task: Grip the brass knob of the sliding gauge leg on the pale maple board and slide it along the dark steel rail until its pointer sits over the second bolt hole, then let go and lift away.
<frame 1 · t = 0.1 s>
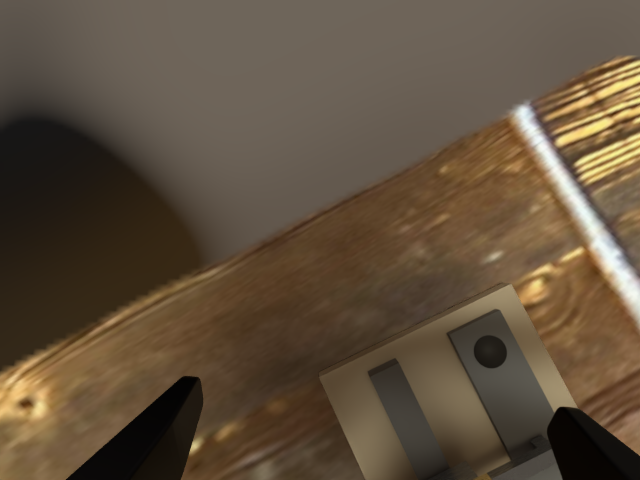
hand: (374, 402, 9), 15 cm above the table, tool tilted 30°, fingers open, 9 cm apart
gauge board: (473, 453, 22), on the table
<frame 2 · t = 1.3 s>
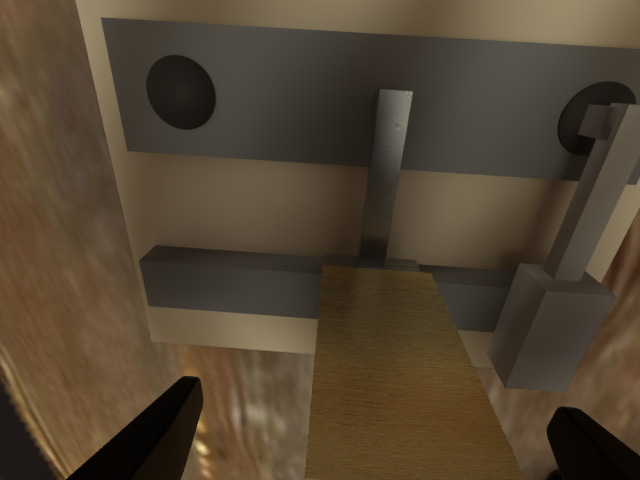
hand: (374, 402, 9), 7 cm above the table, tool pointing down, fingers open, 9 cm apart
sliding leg: (381, 311, 8), point 6 cm above the table, slide at -6.0 cm
gauge board: (367, 199, 13), on the table
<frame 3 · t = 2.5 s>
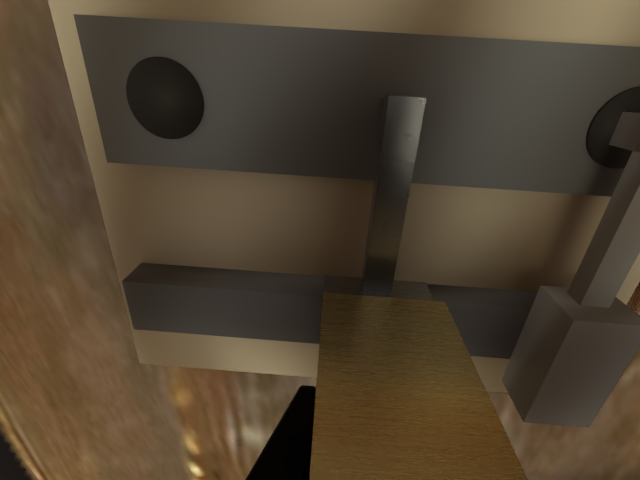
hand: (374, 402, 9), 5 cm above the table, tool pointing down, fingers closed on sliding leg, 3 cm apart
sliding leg: (391, 351, 7), point 6 cm above the table, slide at -6.0 cm, touching gripper
gauge board: (371, 213, 12), on the table
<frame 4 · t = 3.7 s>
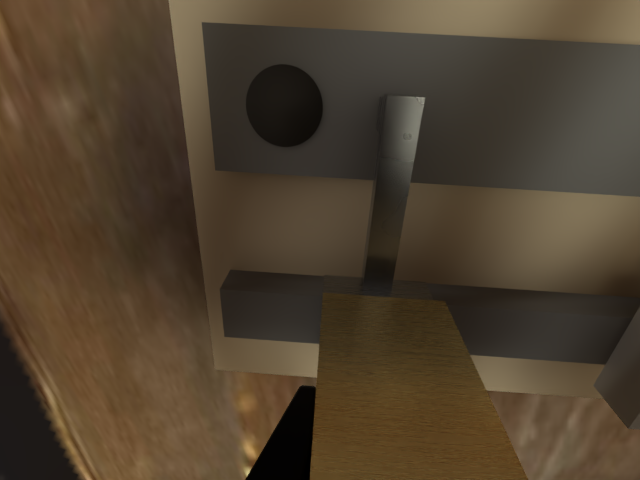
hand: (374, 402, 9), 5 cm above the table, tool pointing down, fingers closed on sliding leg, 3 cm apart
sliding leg: (390, 350, 7), point 6 cm above the table, slide at -2.8 cm, touching gripper
gauge board: (461, 218, 12), on the table
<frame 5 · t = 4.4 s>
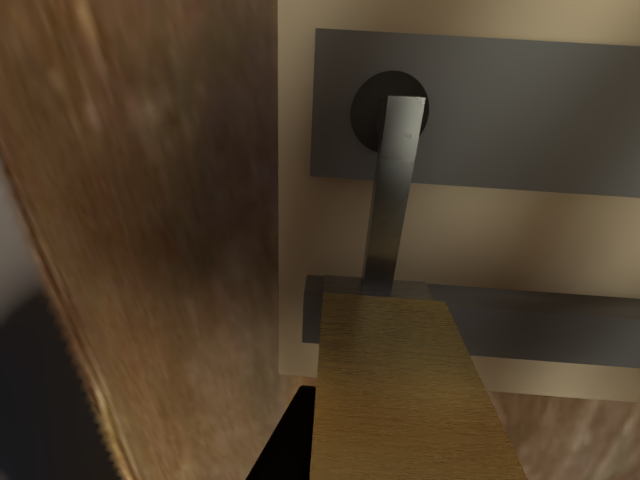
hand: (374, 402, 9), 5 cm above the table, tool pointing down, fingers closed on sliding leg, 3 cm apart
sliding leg: (390, 350, 7), point 6 cm above the table, slide at -0.1 cm, touching gripper
gauge board: (539, 224, 12), on the table
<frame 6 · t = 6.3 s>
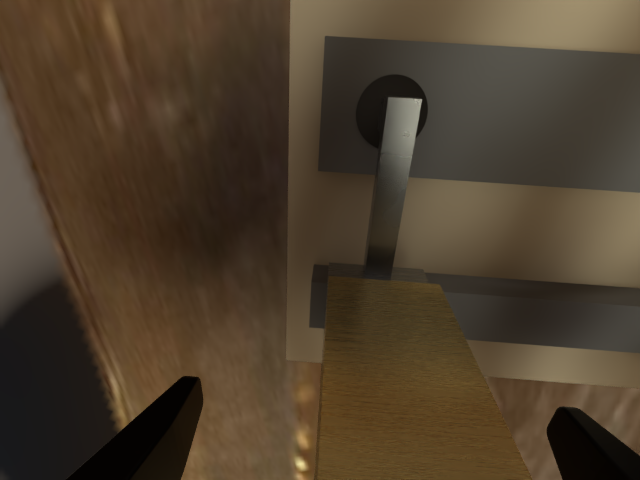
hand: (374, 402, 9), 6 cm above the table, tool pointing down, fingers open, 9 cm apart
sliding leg: (390, 325, 8), point 6 cm above the table, slide at -0.1 cm
gauge board: (531, 217, 13), on the table
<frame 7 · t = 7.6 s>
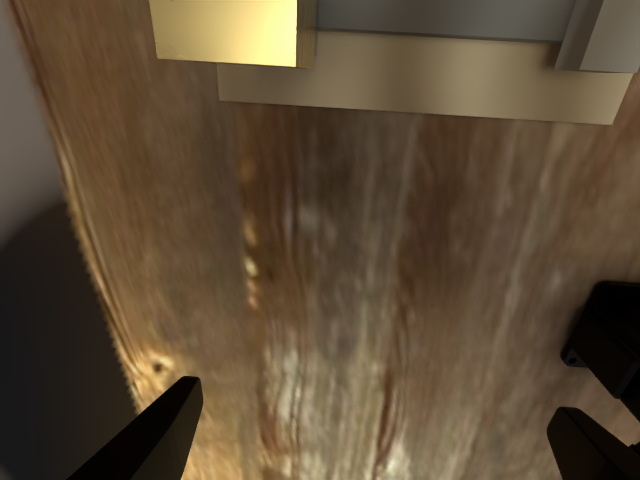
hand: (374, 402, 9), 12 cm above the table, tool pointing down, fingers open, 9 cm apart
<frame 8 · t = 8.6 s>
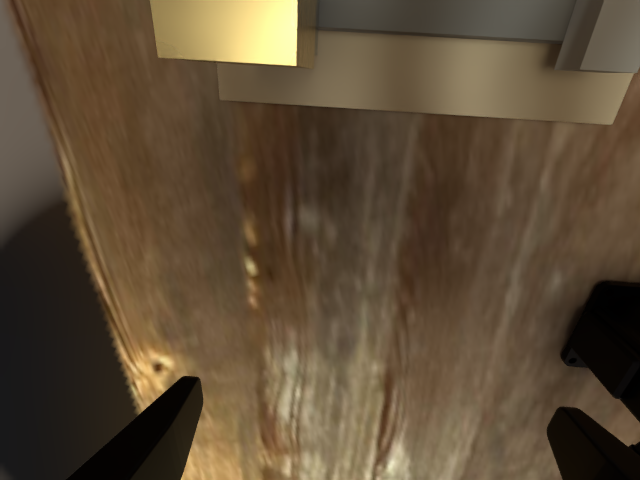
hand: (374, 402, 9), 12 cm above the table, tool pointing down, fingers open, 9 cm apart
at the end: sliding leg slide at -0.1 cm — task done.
